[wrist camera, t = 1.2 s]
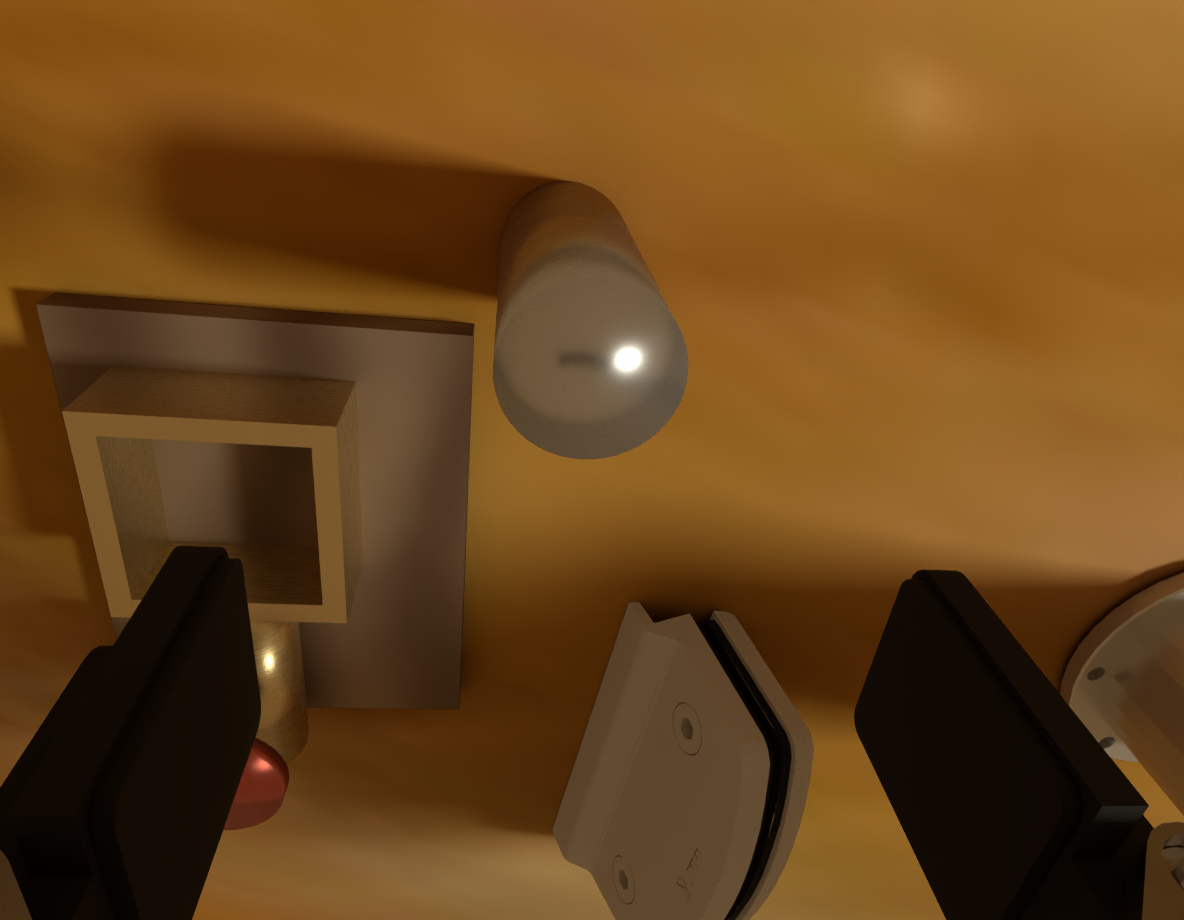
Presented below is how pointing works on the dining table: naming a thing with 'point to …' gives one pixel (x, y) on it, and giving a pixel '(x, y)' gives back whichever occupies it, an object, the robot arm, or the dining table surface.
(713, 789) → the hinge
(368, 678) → the base board
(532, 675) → the dining table surface
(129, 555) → the square socket board
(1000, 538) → the dining table surface
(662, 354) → the beige cylindrical canister
